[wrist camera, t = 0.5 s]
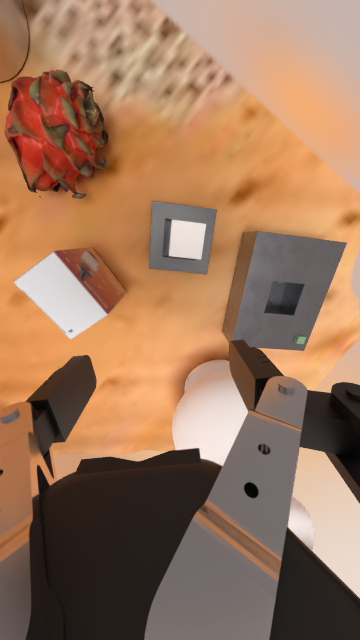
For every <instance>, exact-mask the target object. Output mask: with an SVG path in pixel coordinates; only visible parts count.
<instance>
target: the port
mask: <svg viewBox="0 0 360 640" xmlns="http://www.w3.org/2000/svg"><path fill="white" fill-rule="evenodd" d="M346 244H347V243H345V242H337V241H329V240H321V239H313V238H306V237H298V236H290V235H282V234H274V233H267V232H259V231H256V232H246V233H243V235H242V239H241V244H240V249H239V254H238V258H237V263H236V268H235V273H234V278H233V282H232V287H231V292H230V297H229V301H228V306H227V311H226V316H225V320H224V325H223V330H222V332H223V334H224V336H225V337H226V339H227V341H228V342H230V341H232V340H242V339H243V340H244V341H245V342H246V343H247V344H248V346H249V347H255V348H270V349H285V350H300V351H304V349H305V347H306V344H307V342H308V339H309V337H310V334H311V332H312V329H313V327H314V324H315V322H316V319H317V317H318V314H319V312H320V309H321V307H322V304H323V302H324V299H325V297H326V294H327V292H328V289H329V287H330V284H331V282H332V279H333V277H334V274H335V272H336V269H337V267H338V264H339V262H340V259H341V257H342V254H343V252H344V249H345V247H346Z"/></svg>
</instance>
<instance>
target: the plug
mask: <svg viewBox="0 0 360 640" xmlns="http://www.w3.org/2000/svg"><path fill="white" fill-rule="evenodd" d="M205 229H206V224H203V223H195V222H187V221H180V220H172V221H171V225H170V234H169V246H168V254H169V256H172V257H181V258H190V259H199V260H201V257H202V250H203V243H204V236H205Z"/></svg>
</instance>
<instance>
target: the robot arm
mask: <svg viewBox="0 0 360 640" xmlns="http://www.w3.org/2000/svg"><path fill="white" fill-rule="evenodd" d="M28 40H29V33H28V25H27V19H26V15H25V12H24V8H23V4H22V2H21V0H0V82H2V81H6V80H9V79H10V78H12V77H13V76H15V75H16V74H17V73H18V72H19V70H20V69H21V68H22V66H23V64H24V62H25V59H26V56H27V51H28ZM229 366H230V372H231V376H232V378H233V380H234V382H235V384H236V387H237V389H238V391H239V393H240V395H241V397H242V400H243V402H244V404H245V406H246V408H247V410H248V413H247V416H246V418H245V420H244V422H243V424H242V426H241V428H240V430H239V433H238V435H237V437H236V439H235V441H234V443H233V445H232V447H231V450H230V452H229V454H228V456H227V458H226V460H225V462H224V465H223V466H221V465H220V464H217V463H215V462H213V461H210V460H207V459H201V458H200V450H199V448H193V449H183V450H173V451H168V452H165V453H163V454H160V455H157V456H154V457H152V458H149V459H146V460H143V461H139V462H136V461H131V460H125V459H120V458H114V457H103V458H92V459H83V460H81V462H80V464H79V466H78V468H77V471H76V472H74V473H72V474H69V475H67V476H65V477H63V478H62V479H60V480H58V481H57V477H56V472H55V466H54V461H53V455H52V451H51V449H50V447H51V445H52V443H57V442H65V441H66V439H67V437H68V436H69V434H70V432H71V431H72V429H73V427H74V425H75V424H76V422H77V420H78V418H79V417H80V415H81V413H82V411H83V410H84V408H85V406H86V404H87V403H88V401H89V399H90V397H91V396H92V394H93V392H94V390H95V388H96V376H95V373H94V369H93V366H92V362H91V359H90V357H89V356H88V355H83V356H74V357H72V358H71V359H70V360H69V361H68V362H67V363H66V364H65V365H64V366H63V367H62V368H60V369H59V370H57V371H55V372H54V373H53V374H52V375H51V376H50V377H49V378H48V380H46V381H45V382H44V383H43V385H41V386H40V387H39V388H38V389H37V390H36V391H35V392H34V393H33V394H32V395H31V396H30V397H29V398H28V399H27V400H26V401H25V402H19V403H16V404H13V405H10V406H8V407H6V408H4V409H2V410H1V411H0V640H360V598H359V597H358V596H357V595H356V594H355V593H354V592H353V591H352V590H351V589H350V588H349V587H348V586H347V585H346V584H345V583H344V582H342V580H341V579H339V577H337V575H336V574H335V573H334V572H332V570H330V569H329V567H327V566H326V564H324V563H323V562H322V561H321V560H320V559H319V558H318V557H317V556H316V555H315V554H314V553H313V552H312V551H311V550H310V549H309V548H308V547H307V546H306V545H305V544H304V543H303V542H302V541H301V540H300V539H299V538H298V537H297V536H296V535H295V534H294V533H293V532H292V531H291V530H290V529H289V528H288V521H289V514H290V507H291V501H292V493H293V486H294V480H295V473H296V467H297V461H298V454H299V447H303V448H308V449H313V450H318V451H323V452H325V453H326V455H327V456H328V458H329V459H330V461H331V462H332V464H333V465H334V466H335V468H336V469H337V471H338V472H339V474H340V475H341V477H342V478H343V480H344V481H345V483H346V484H347V486H348V487H349V488H350V490H351V491H352V493H353V494H354V496H355V497H356V499H357V500H358V501H359V503H360V385H357V384H353V383H347V382H341V383H336V384H334V385H333V386H332V389H331V393H326V392H317V391H310V390H307V388H306V387H305V386H304V384H302V383H301V382H299V381H298V380H296V379H293V378H290V377H286V376H284V375H283V374H282V373H281V372H280V371H279V370H278V369H277V368H276V366H275V365H274V364H273V363H272V362H271V361H270V360H269V358H267V356H266V355H265V354H264V353H263V352H262V351H261V350H259V349H257V348H255V347H249V346H248V344H247V343H246V342H245V341H244V340H243V339H242V340H232V341H230V342H229Z"/></svg>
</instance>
